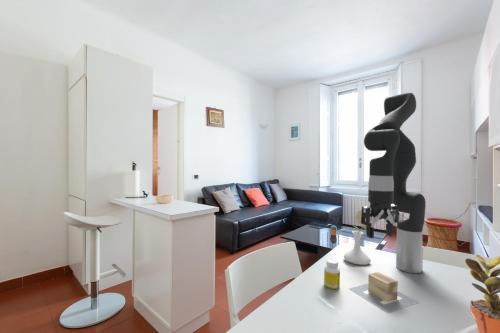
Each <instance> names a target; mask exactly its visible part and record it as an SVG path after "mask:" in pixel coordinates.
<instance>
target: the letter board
mask: <svg viewBox="0 0 500 333" xmlns="http://www.w3.org/2000/svg"><path fill="white" fill-rule="evenodd" d="M348 290H350V291H351V292H353V293H355V294H357V295H358V296H359V297H361V298H362V299H364V300H366V301H367V302H369V303H370V304H372V305H373V306H376V307H377V308H379V309H380V310H381V311H384V312H385V313H387V314H391V313H393V312H396V311H399V310H402V309H405V308H409V307H410V306H413V305H416V304H420V302H419V301H418V300H417V299H414V298H412V297H410V296H407V295H406V294H404V293H402V292H401V291H398V290H397V299H396V300H393V301H390V302H385V301H384V300H382V299H380V298H379V297H377V296H375V295H373V294H372V293H370V292H368V283H365V284H361V285H357V286H354V287H351V288H348Z"/></svg>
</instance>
